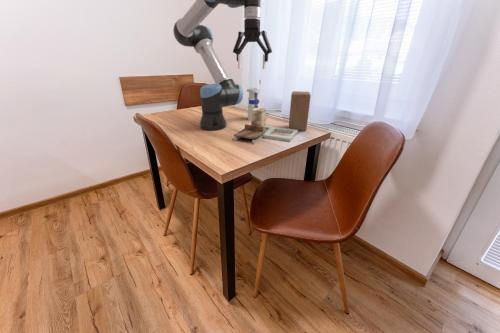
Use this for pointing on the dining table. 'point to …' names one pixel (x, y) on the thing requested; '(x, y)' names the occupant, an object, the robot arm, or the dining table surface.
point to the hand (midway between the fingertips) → (251, 68)
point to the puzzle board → (270, 131)
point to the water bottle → (253, 100)
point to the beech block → (258, 117)
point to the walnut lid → (250, 132)
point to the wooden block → (299, 110)
